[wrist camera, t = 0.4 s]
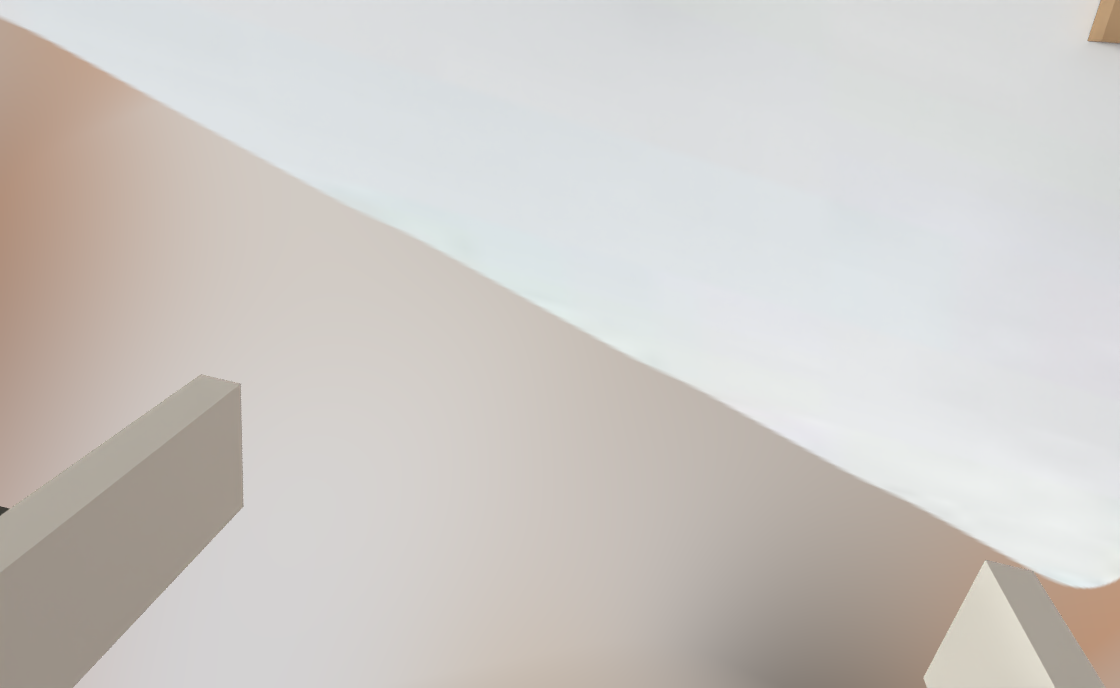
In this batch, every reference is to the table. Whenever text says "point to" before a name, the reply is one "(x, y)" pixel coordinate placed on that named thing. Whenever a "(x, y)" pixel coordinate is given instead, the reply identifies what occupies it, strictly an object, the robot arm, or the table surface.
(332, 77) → the table surface
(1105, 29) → the comb board
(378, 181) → the table surface
